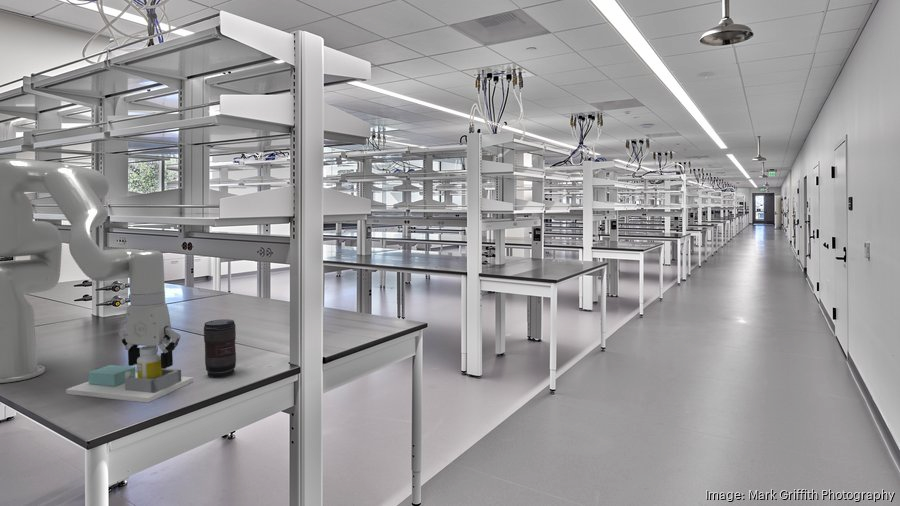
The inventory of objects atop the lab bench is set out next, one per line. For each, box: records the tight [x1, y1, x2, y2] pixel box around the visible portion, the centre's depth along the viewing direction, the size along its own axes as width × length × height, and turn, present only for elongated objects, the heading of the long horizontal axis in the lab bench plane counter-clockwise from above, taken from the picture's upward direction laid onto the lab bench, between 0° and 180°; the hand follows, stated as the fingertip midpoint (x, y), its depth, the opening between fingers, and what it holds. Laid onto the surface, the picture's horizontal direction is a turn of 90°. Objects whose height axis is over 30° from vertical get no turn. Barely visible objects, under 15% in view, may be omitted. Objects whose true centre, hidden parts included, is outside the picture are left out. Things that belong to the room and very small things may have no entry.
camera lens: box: [203, 318, 237, 379], centre depth 140 cm, size 8×8×15 cm
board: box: [65, 367, 194, 404], centre depth 129 cm, size 24×15×6 cm, turn 78°
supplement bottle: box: [136, 345, 162, 379], centre depth 128 cm, size 5×5×10 cm
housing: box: [87, 364, 136, 386], centre depth 131 cm, size 8×6×3 cm
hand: (150, 365), depth 128 cm, fingers open, 9 cm apart
